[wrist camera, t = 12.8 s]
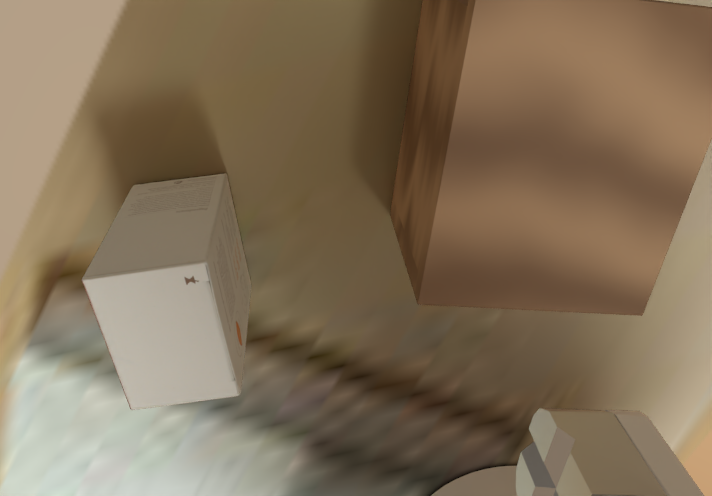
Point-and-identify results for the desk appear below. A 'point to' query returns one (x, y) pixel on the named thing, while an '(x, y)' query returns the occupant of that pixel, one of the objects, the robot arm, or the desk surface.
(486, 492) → the robot arm
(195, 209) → the small box
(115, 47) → the desk surface
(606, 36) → the shelf
